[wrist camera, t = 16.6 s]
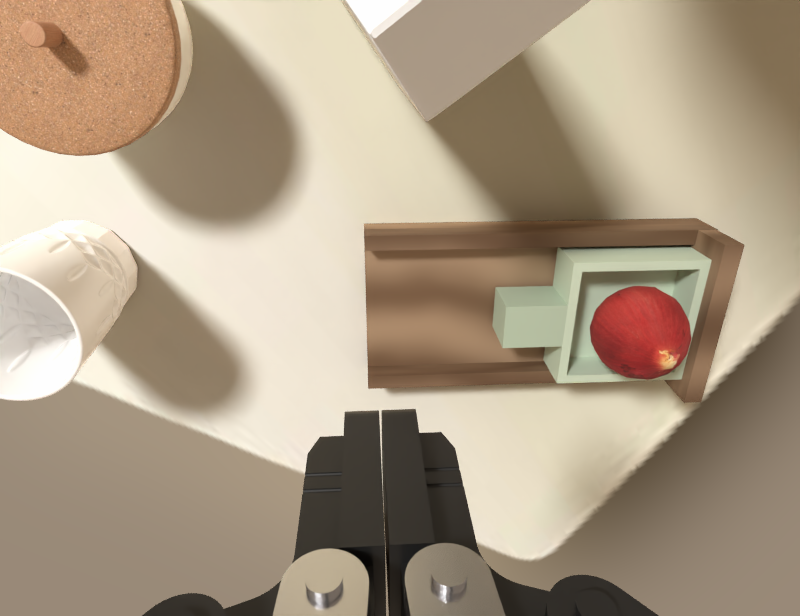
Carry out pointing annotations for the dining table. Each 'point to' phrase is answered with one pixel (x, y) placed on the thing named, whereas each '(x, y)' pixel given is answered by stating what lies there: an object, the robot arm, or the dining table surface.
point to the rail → (506, 267)
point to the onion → (640, 332)
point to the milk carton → (452, 41)
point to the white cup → (58, 303)
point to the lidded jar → (90, 70)
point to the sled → (594, 303)
